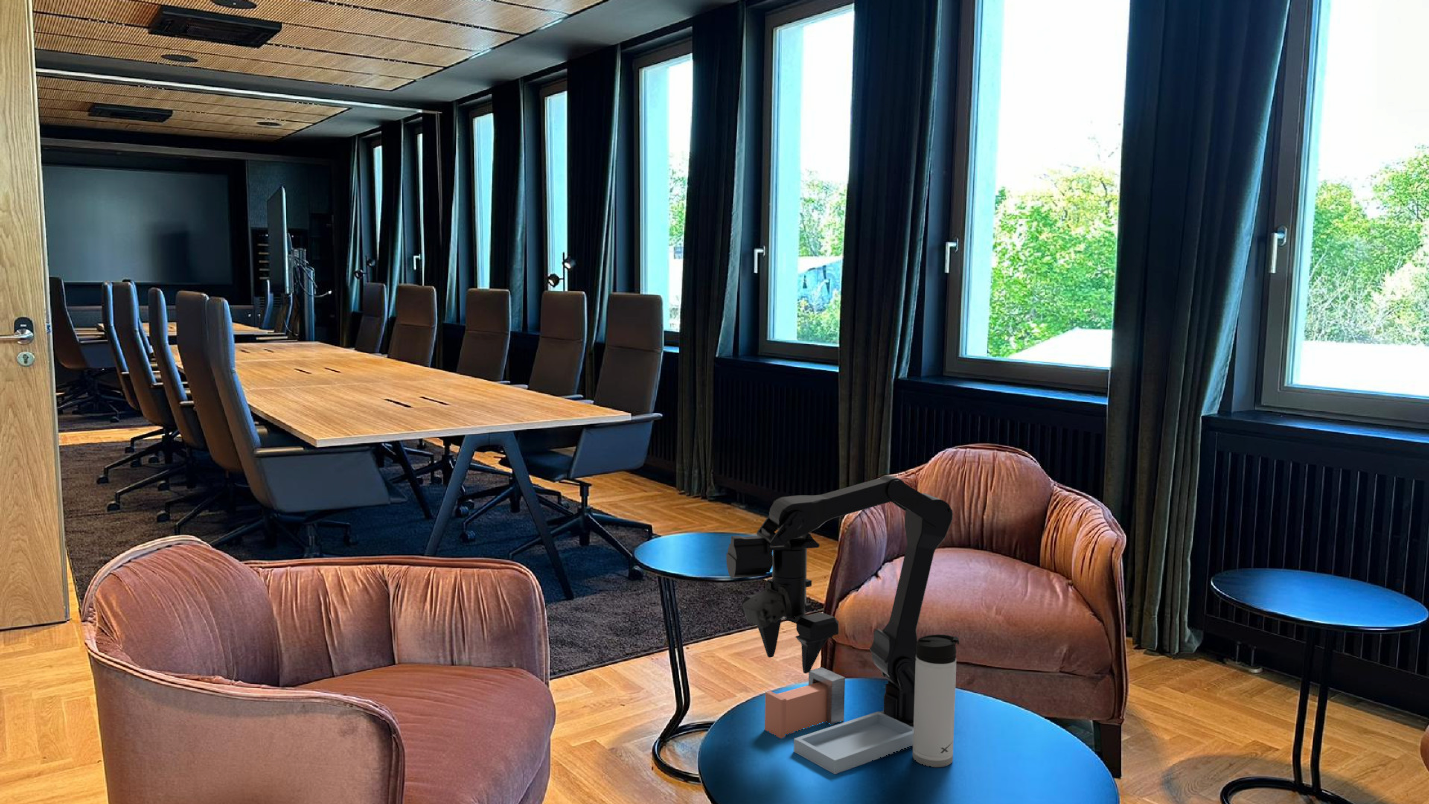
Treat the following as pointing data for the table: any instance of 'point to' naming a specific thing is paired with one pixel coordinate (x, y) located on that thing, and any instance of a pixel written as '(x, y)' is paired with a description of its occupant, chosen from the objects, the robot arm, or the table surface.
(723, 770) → the table surface
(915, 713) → the travel mug
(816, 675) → the bracket
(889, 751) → the tray
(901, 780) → the table surface
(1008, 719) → the table surface
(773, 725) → the pink curved block
